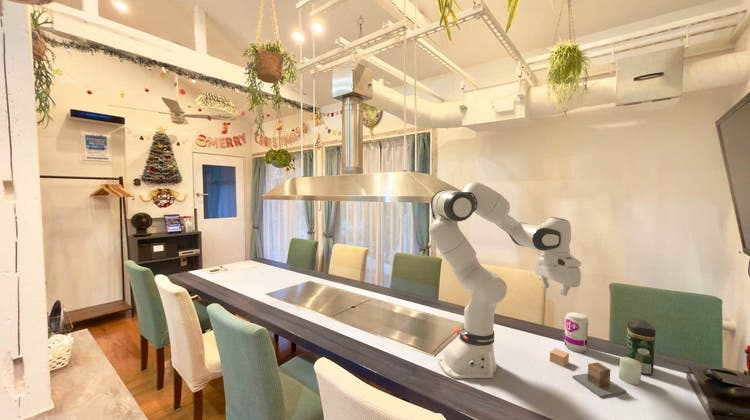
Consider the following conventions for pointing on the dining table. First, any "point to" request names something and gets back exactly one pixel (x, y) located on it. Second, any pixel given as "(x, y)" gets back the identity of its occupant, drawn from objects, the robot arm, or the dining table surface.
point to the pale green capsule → (630, 371)
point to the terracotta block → (559, 357)
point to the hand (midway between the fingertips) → (554, 291)
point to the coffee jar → (641, 344)
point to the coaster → (600, 392)
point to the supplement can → (576, 331)
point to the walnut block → (599, 375)
